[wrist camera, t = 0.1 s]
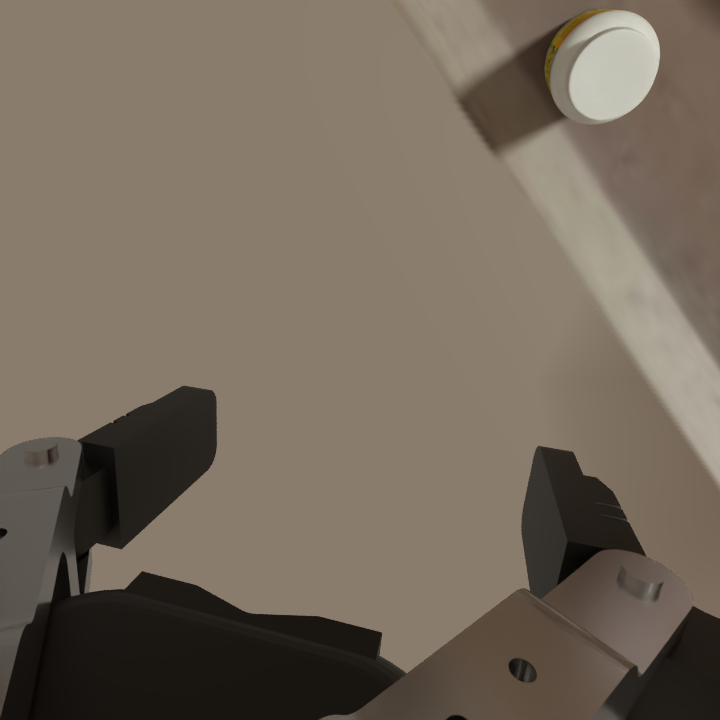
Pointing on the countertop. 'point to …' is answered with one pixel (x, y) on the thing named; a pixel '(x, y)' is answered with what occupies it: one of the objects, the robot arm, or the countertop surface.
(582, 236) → the countertop surface
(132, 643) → the robot arm
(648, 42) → the supplement bottle
